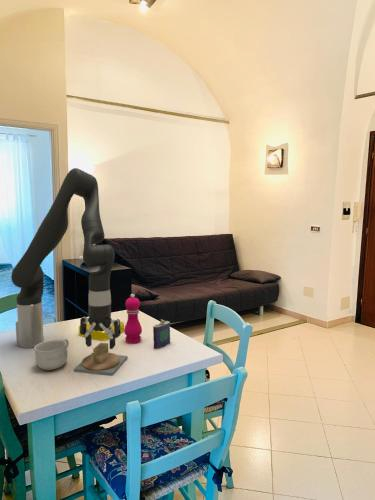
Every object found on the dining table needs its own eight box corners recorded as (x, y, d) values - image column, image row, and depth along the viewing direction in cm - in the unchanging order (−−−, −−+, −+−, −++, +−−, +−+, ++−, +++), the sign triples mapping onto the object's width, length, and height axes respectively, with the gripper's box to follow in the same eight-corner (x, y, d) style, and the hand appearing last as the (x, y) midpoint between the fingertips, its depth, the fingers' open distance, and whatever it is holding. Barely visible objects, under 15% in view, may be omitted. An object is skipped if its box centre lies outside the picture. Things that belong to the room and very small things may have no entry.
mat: (73, 371, 127) (73, 368, 126) (92, 355, 140) (92, 352, 140) (112, 375, 124) (112, 372, 124) (127, 358, 137) (127, 355, 137)
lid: (75, 368, 126) (74, 352, 126) (92, 353, 139) (91, 338, 138) (111, 372, 124) (110, 355, 123) (125, 356, 137) (124, 340, 136)
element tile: (100, 326, 174) (100, 316, 173) (126, 331, 167) (126, 321, 166) (76, 336, 161) (76, 325, 160) (103, 342, 154) (103, 331, 153)
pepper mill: (121, 342, 153) (120, 295, 150) (130, 336, 159) (129, 291, 157) (136, 345, 150) (135, 296, 147) (145, 339, 157) (144, 292, 154)
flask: (166, 341, 155) (166, 316, 153) (172, 342, 153) (172, 317, 151) (151, 348, 147) (151, 322, 146) (157, 350, 146) (157, 323, 144)
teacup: (48, 376, 123) (47, 353, 122) (28, 368, 129) (27, 346, 128) (81, 361, 135) (80, 339, 134) (61, 354, 141) (60, 334, 140)
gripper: (75, 303, 127) (76, 349, 129) (114, 306, 124) (115, 353, 126) (85, 298, 134) (86, 341, 136) (123, 300, 131) (123, 345, 133)
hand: (100, 347), depth 131 cm, fingers open, 8 cm apart
